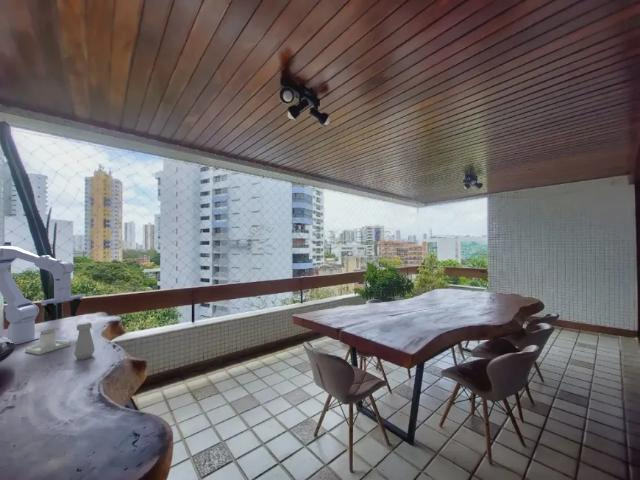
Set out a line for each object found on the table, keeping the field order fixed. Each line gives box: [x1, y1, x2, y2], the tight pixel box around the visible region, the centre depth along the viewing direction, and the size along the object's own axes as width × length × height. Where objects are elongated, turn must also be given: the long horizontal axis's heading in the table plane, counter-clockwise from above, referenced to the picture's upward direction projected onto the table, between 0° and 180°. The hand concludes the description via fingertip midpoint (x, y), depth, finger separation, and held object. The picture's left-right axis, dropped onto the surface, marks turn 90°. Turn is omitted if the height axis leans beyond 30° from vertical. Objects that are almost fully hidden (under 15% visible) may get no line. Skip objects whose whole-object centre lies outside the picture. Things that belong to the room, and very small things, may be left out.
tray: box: [24, 339, 71, 356], centre depth 114 cm, size 10×10×2 cm
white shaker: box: [39, 328, 57, 350], centre depth 114 cm, size 4×4×7 cm
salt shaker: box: [73, 321, 95, 361], centre depth 103 cm, size 6×6×13 cm
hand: (63, 317), depth 127 cm, fingers open, 7 cm apart
